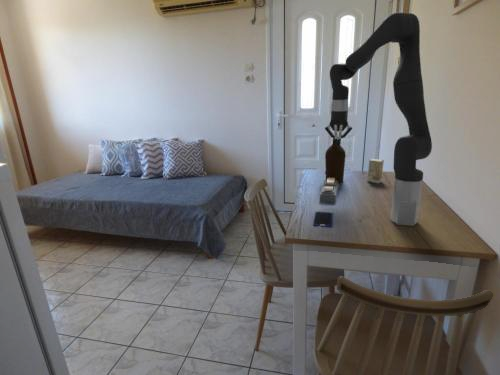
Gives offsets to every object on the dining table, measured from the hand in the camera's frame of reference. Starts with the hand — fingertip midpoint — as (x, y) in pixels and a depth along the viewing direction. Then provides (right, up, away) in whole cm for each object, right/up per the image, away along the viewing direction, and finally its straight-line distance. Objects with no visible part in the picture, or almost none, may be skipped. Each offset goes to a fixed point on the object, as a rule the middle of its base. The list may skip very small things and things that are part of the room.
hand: (337, 146), depth 146 cm
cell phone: (-12, -33, -23) cm, 43 cm away
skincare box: (+26, -17, +19) cm, 36 cm away
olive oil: (+5, -17, +23) cm, 29 cm away
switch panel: (-3, -23, +4) cm, 24 cm away
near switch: (-5, -20, -3) cm, 21 cm away
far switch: (-1, -17, +8) cm, 19 cm away
